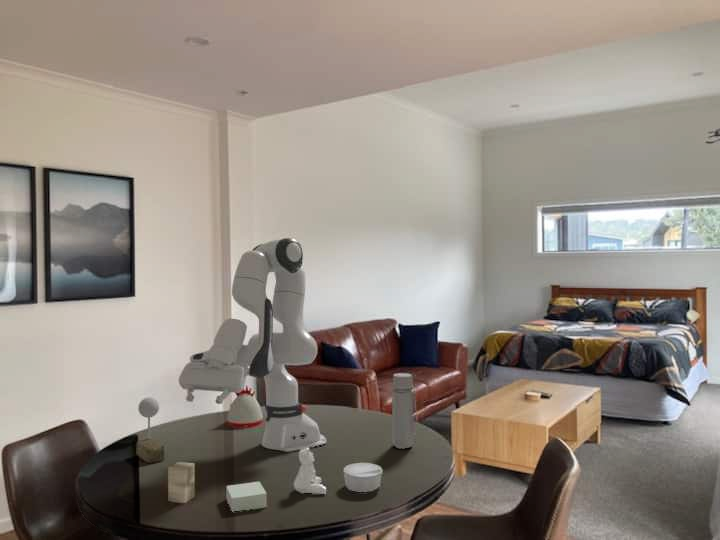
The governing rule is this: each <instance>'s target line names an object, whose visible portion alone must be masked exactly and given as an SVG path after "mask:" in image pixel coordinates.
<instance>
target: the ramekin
mask: <svg viewBox="0 0 720 540" xmlns="http://www.w3.org/2000/svg"><path fill="white" fill-rule="evenodd" d="M382 475H383V468H382V467H381V466H380V465H378V464H375V463H371V462H356V463H351V464H348V465H345V467H344V468H343V476H344V481H345V486H346V488H347V490H349V491H350V490H352V491H357V492H367V491H373V490H375V489H377V488H378V487H379V488H380V486H381V480H382ZM379 488H378V489H379ZM378 489H377V490H378ZM352 491H351V492H352Z"/></svg>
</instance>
